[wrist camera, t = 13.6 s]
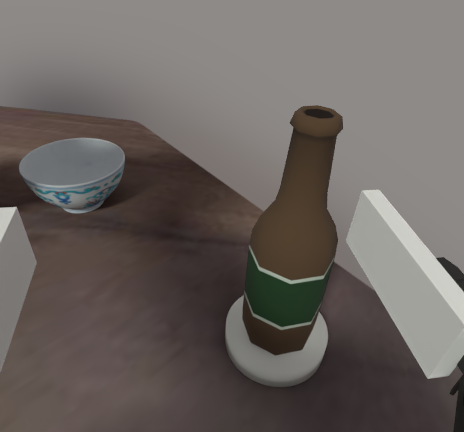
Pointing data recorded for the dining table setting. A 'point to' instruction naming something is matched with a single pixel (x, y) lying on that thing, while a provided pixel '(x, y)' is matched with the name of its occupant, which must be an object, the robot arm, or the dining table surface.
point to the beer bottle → (294, 240)
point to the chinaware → (74, 172)
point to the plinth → (266, 364)
